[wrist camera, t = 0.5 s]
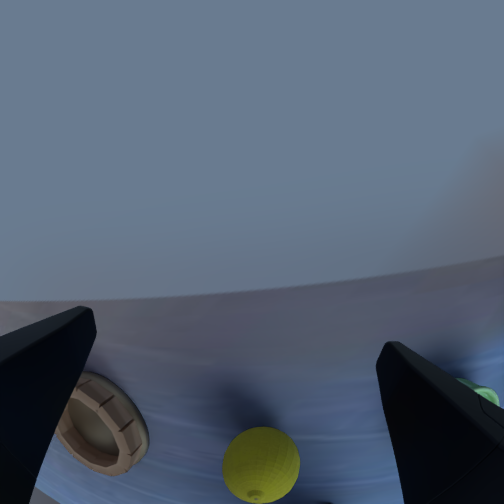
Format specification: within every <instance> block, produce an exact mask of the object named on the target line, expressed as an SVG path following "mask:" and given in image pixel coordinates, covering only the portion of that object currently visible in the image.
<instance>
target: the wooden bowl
mask: <svg viewBox="0 0 504 504" xmlns="http://www.w3.org/2000/svg"><path fill="white" fill-rule="evenodd" d="M54 433H55V434H57V438H58V439H59V440H60V442H61V443H62V444H63V445H64V447H65V448H66V449H67V450H68V452H69V453H70V454H73V457H74V458H76V459H77V460H78V461H80V462H81V463H82V464H84V465H85V466H87V467H88V468H89V469H91V470H92V469H93V471H95V472H99V473H102V474H105V475H109V476H117V475H120V474H123V473H126V472H127V471H128V470H129V469H130V468H131V467H132V466H133V465H134V464H136V463H138V462H139V461H140V460H141V459H142V458H143V456H144V455H145V454H146V452H147V450H148V447H149V433H148V429H147V426H146V424H145V421H144V419H143V417H142V415H141V413H140V412H139V410H138V409H137V407H136V406H135V404H134V403H133V402H132V401H131V399H130V398H129V397H128V396H127V395H126V394H125V393H124V392H123V391H122V390H121V389H120V388H119V387H118V386H116V385H115V384H114V383H112V382H111V381H110V380H108V379H106V378H105V377H103V376H101V375H98V374H96V373H93V372H88V371H82V374H81V376H80V378H79V380H78V382H77V384H76V386H75V388H74V391H73V393H72V395H71V397H70V399H69V401H68V403H67V405H66V407H65V410H64V412H63V414H62V416H61V419H60V421H59V423H58V425H57V428H56V430H55V432H54Z"/></svg>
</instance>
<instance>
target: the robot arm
mask: <svg viewBox="0 0 504 504" xmlns="http://www.w3.org/2000/svg"><path fill="white" fill-rule="evenodd" d="M96 334H97V330H96V325H95V320H94V314H93V311H92V309H91V308H89V307H84V306H78V307H75V308H72V309H70V310H67V311H64V312H62V313H59V314H57V315H54V316H51V317H49V318H46V319H44V320H41V321H38V322H36V323H33V324H31V325H28V326H26V327H23V328H20V329H18V330H15V331H13V332H10V333H8V334H5V335H3V336H0V504H29V502H30V499H31V495H32V492H33V489H34V486H35V483H36V480H37V479H36V478H37V477H38V474H39V471H40V468H41V465H42V463H43V460H44V457H45V455H46V452H47V450H48V447H49V445H50V442H51V440H52V437H53V435H54V432H55V430H56V428H57V425H58V423H59V421H60V419H61V416H62V414H63V412H64V410H65V407H66V405H67V403H68V401H69V399H70V397H71V395H72V393H73V391H74V388H75V386H76V384H77V382H78V380H79V378H80V376H81V374H82V371H83V369H84V366H85V363H86V361H87V358H88V356H89V353H90V351H91V348H92V346H93V343H94V341H95V338H96ZM376 371H377V377H378V382H379V388H380V394H381V400H382V406H383V410H384V414H385V418H386V422H387V426H388V430H389V434H390V438H391V442H392V446H393V450H394V455H395V459H396V464H397V468H398V473H399V478H400V483H401V488H402V494H403V499H404V504H504V409H502V408H501V407H499V406H497V405H496V404H494V403H492V402H491V401H489V400H488V399H486V398H485V397H483V396H482V395H480V394H478V393H477V392H475V391H474V390H472V389H471V388H469V387H468V386H466V385H465V384H463V383H462V382H460V381H459V380H457V379H455V378H454V377H452V376H451V375H449V374H448V373H446V372H445V371H443V370H442V369H440V368H439V367H437V366H436V365H434V364H432V363H431V362H429V361H428V360H426V359H425V358H423V357H422V356H420V355H419V354H417V353H416V352H414V351H412V350H411V349H409V348H408V347H406V346H405V345H403V344H402V343H400V342H398V341H388V342H386V343H385V345H384V347H383V349H382V351H381V353H380V355H379V358H378V360H377V363H376Z"/></svg>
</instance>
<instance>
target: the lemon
mask: <svg viewBox="0 0 504 504" xmlns="http://www.w3.org/2000/svg"><path fill="white" fill-rule="evenodd" d="M299 468H300V457H299V453H298V449H297V447H296V445H295V443H294V442H293V440H292V439H291V438H290V437H289V436H288V435H287V434H285V433H284V432H282V431H280V430H278V429H275V428H272V427H255V428H251V429H248V430H246V431H244V432H242V433H240V434H239V435H238V436H237V437H235V438H234V439H233V440H232V441H231V443H230V445H229V446H228V448H227V450H226V452H225V454H224V459H223V466H222V472H223V477H224V481H225V484H226V485H227V487H228V489H229V490H230V491H231V492H232V493H233V494H234V495H235V496H236V497H238V498H240V499H242V500H244V501H247V502H250V503H259V504H262V503H269V502H273V501H276V500H278V499H280V498H282V497H283V496H284V495H286V494H287V493H288V492H289V491H290V490H291V489H292V487H293V485H294V484H295V482H296V480H297V477H298V474H299Z"/></svg>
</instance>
